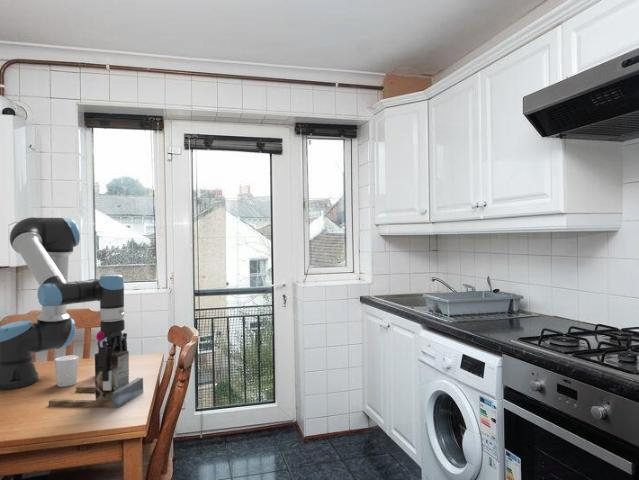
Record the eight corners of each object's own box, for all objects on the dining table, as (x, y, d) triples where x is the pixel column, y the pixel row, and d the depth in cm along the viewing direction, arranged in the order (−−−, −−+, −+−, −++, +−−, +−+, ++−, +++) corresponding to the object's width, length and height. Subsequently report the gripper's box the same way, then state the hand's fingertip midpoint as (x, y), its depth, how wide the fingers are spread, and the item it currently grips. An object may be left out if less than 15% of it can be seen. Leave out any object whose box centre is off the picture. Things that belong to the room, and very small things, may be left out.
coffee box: (94, 401, 151) (93, 354, 150) (107, 394, 157) (106, 349, 157) (117, 403, 148) (116, 355, 148) (130, 396, 155) (129, 350, 155)
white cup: (68, 387, 165) (67, 361, 165) (50, 386, 167) (49, 360, 167) (83, 381, 173) (83, 355, 173) (66, 380, 175) (65, 354, 175)
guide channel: (48, 405, 147) (48, 390, 147) (79, 390, 162) (78, 376, 162) (119, 407, 144) (118, 392, 144) (143, 391, 159) (142, 377, 159)
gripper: (105, 325, 142) (106, 396, 142) (137, 314, 162) (139, 377, 162) (83, 325, 143) (85, 396, 143) (118, 314, 163) (120, 377, 163)
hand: (113, 386), depth 153 cm, fingers closed on coffee box, 7 cm apart
